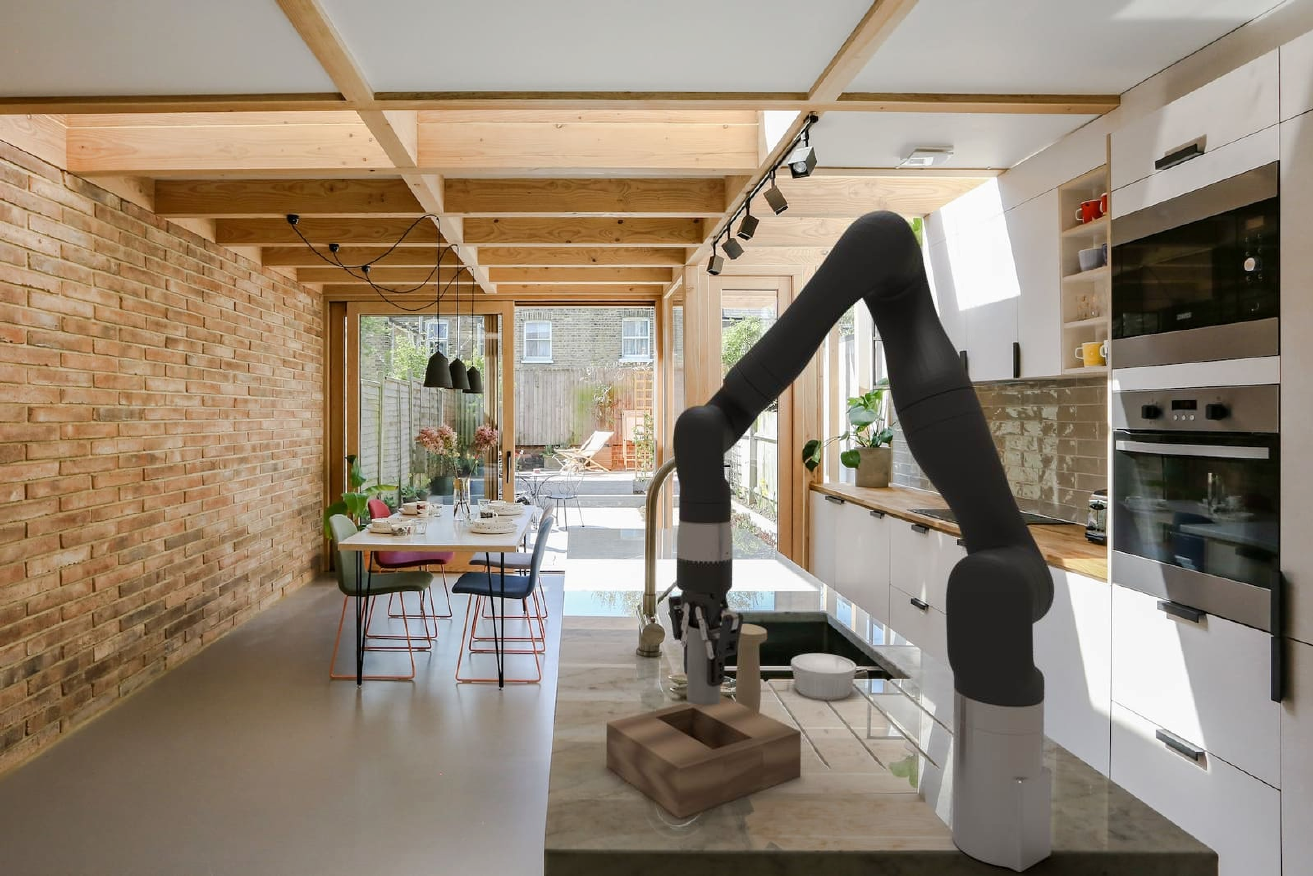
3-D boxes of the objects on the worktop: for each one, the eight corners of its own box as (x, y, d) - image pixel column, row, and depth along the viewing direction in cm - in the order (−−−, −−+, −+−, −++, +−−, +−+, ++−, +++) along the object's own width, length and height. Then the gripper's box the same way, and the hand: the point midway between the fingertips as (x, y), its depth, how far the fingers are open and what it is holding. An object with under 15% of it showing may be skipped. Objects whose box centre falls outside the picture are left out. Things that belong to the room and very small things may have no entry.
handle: (745, 734, 117) (746, 635, 117) (724, 719, 123) (724, 625, 123) (772, 729, 119) (773, 632, 119) (749, 714, 125) (750, 622, 125)
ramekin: (869, 698, 133) (869, 668, 133) (814, 707, 129) (814, 675, 129) (831, 678, 144) (831, 650, 143) (779, 685, 139) (779, 656, 139)
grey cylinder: (700, 691, 108) (700, 618, 108) (726, 699, 105) (727, 623, 105) (680, 700, 104) (680, 624, 104) (707, 708, 102) (708, 630, 101)
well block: (800, 776, 103) (800, 731, 103) (679, 818, 92) (679, 768, 92) (720, 733, 117) (720, 694, 117) (606, 766, 106) (606, 722, 106)
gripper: (761, 559, 100) (759, 690, 101) (695, 544, 112) (693, 661, 113) (715, 565, 96) (714, 701, 97) (652, 548, 108) (651, 670, 108)
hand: (703, 679), depth 105 cm, fingers closed on grey cylinder, 4 cm apart
